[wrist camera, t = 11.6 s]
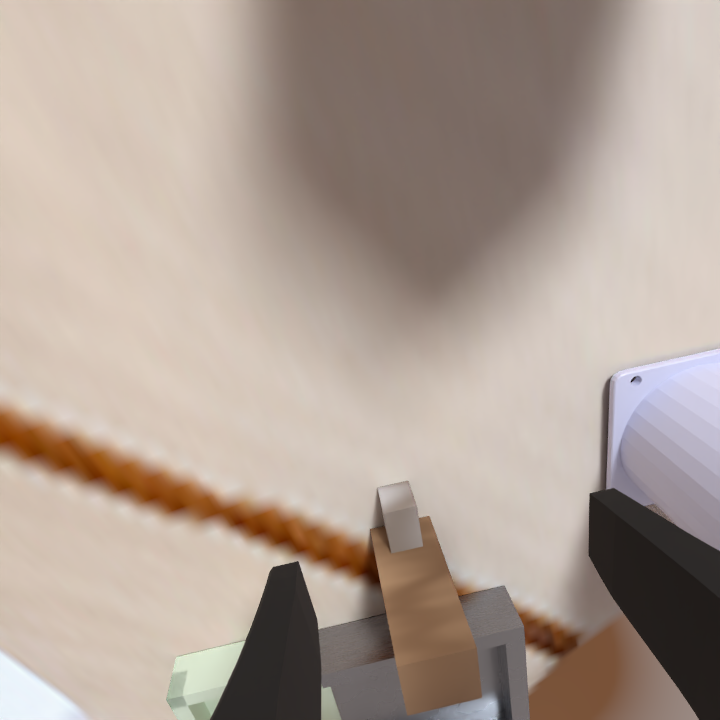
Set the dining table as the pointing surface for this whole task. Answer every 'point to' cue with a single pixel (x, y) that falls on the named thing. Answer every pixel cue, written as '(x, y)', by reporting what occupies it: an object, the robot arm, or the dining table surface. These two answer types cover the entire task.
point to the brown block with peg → (422, 608)
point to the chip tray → (216, 684)
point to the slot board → (380, 675)
